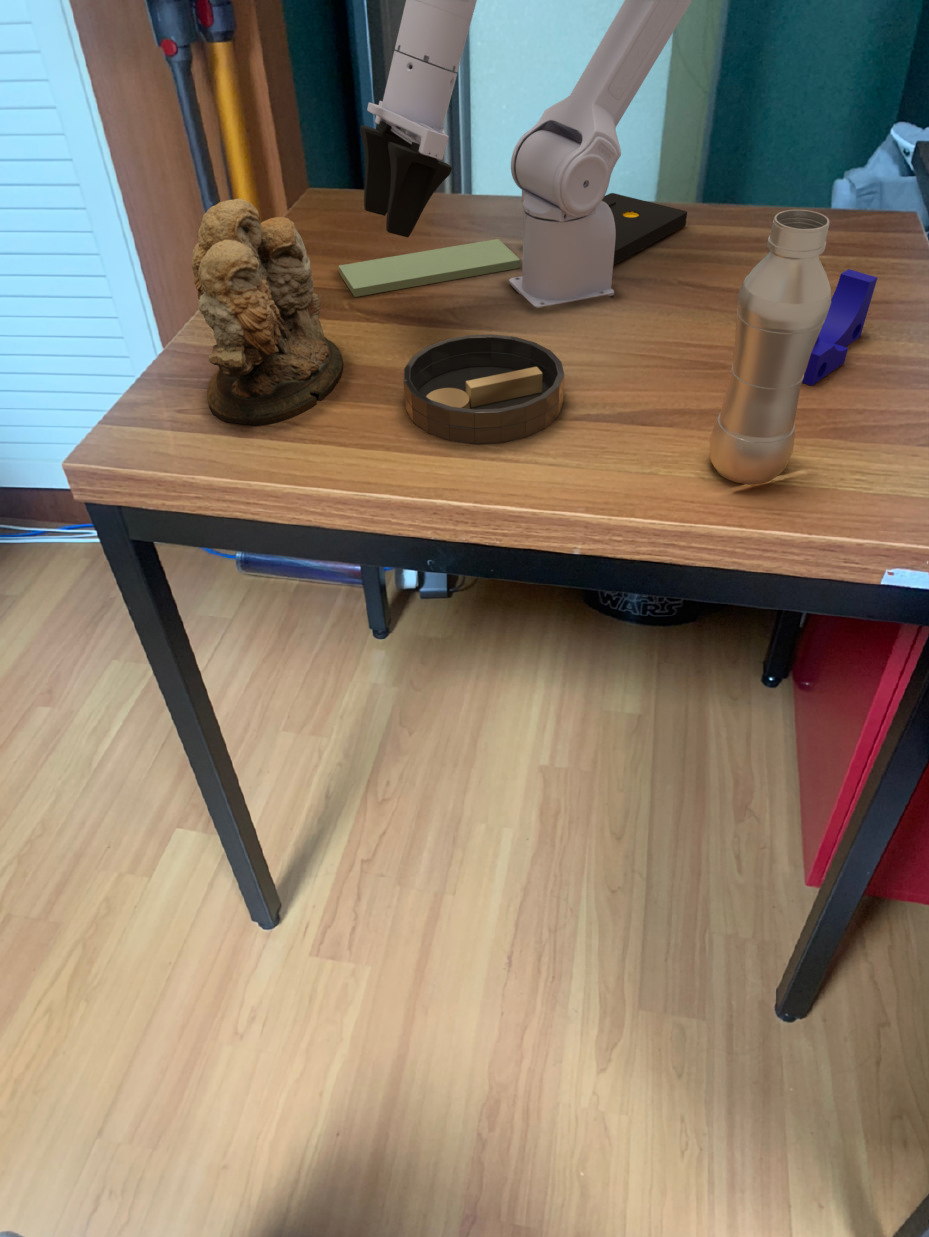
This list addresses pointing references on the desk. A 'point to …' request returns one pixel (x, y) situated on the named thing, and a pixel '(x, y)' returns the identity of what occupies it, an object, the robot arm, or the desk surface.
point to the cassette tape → (640, 223)
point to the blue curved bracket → (840, 324)
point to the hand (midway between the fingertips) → (385, 223)
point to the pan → (477, 360)
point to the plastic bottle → (772, 350)
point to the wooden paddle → (491, 389)
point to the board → (427, 267)
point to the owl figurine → (261, 317)
